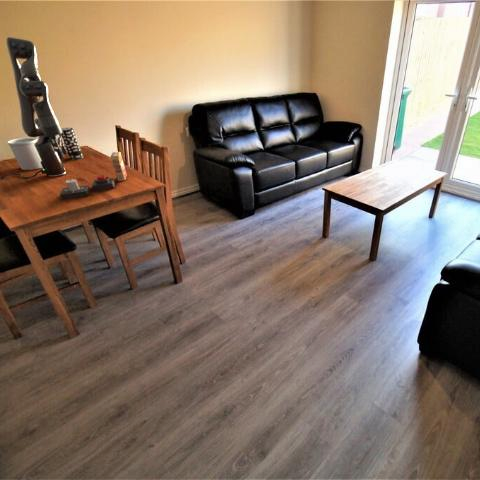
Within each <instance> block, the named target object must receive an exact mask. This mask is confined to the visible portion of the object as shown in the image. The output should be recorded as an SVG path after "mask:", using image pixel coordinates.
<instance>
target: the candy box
mask: <svg viewBox="0 0 480 480" xmlns="http://www.w3.org/2000/svg"><path fill="white" fill-rule="evenodd" d="M110 159H111V162H112V163H111V164H112V166H113V168H114V172H115V176H116V180H117V181H118V182H123V181H124V182H125V181H126V179H127V177H128V174H127V171H126V167H125V164H124V160H123V158H122V154H121V151H112V152H111V155H110Z"/></svg>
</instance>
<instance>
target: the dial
mask: <svg viewBox="0 0 480 480" xmlns="http://www.w3.org/2000/svg"><path fill="white" fill-rule="evenodd" d="M65 184H66V188H68V189H69V191H76V190H79V189H80V188H79V186H80V185H79V184H78V182H77V179H75V178H74V179H73V178H70V179H68V180H66V181H65Z"/></svg>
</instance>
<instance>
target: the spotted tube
mask: <svg viewBox="0 0 480 480" xmlns="http://www.w3.org/2000/svg"><path fill="white" fill-rule="evenodd" d="M61 130H62V132H63V133H62V134H61V136H62V139H63V141H64V143H65V149H66V152H67V155H68V158H69V160H80V159H83V158H84V154H83V151H82V149H81V146H80V144H79V141H78V139H77V135H76V134H75V131H74V129H73V127H61Z"/></svg>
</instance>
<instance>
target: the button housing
mask: <svg viewBox="0 0 480 480" xmlns="http://www.w3.org/2000/svg"><path fill="white" fill-rule="evenodd" d="M105 177H106V179H105V180H98V179H97V178H94V180H93V182H92V185H91V187H92V190H93V192H98V191H106V190H112V189H115V185H116V182H115V178H114V177H110V178H109V176H105Z"/></svg>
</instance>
